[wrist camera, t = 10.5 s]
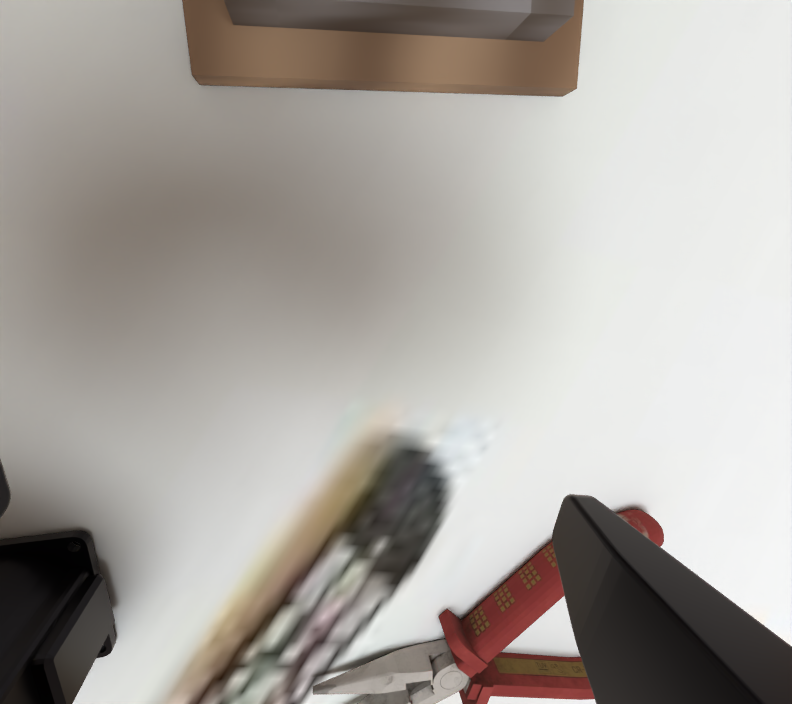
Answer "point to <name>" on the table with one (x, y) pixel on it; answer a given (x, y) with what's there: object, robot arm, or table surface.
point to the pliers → (484, 647)
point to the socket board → (388, 44)
